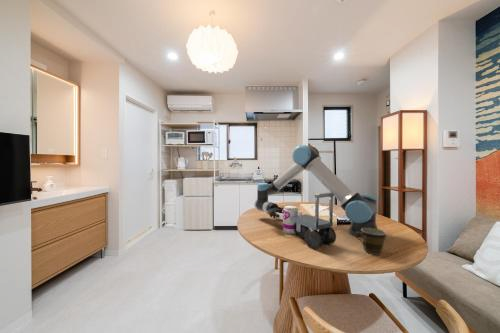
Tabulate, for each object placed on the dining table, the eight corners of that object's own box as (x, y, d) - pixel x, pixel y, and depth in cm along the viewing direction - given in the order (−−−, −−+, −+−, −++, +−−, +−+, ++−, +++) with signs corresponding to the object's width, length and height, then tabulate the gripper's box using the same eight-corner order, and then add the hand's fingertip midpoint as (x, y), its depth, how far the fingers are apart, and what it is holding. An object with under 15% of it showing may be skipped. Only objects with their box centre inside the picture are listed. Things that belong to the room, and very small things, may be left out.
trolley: (287, 236, 118) (288, 188, 117) (303, 232, 124) (304, 187, 123) (318, 251, 99) (319, 195, 98) (335, 246, 105) (337, 193, 104)
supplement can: (288, 235, 120) (288, 208, 119) (280, 230, 127) (280, 205, 127) (300, 233, 123) (300, 207, 122) (291, 229, 131) (292, 204, 130)
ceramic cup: (378, 248, 104) (379, 228, 103) (389, 258, 94) (390, 235, 93) (350, 247, 105) (351, 227, 105) (359, 256, 95) (359, 234, 95)
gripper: (285, 211, 148) (308, 219, 129) (254, 216, 135) (275, 225, 117) (285, 200, 147) (308, 207, 129) (254, 204, 135) (275, 211, 116)
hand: (292, 215), depth 123 cm, fingers open, 13 cm apart
